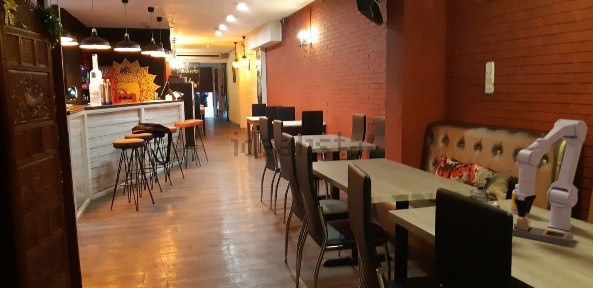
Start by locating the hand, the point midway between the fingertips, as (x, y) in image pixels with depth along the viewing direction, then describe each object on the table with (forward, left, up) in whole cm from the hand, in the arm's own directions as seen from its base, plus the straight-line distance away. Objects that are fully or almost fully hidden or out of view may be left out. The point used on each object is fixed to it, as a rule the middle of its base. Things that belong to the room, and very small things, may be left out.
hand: (524, 214), depth 176 cm
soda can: (+9, -10, -8) cm, 16 cm away
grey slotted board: (0, +6, -8) cm, 9 cm away
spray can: (+15, -12, -8) cm, 21 cm away
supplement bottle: (-30, -8, -8) cm, 32 cm away
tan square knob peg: (0, 0, -8) cm, 8 cm away
